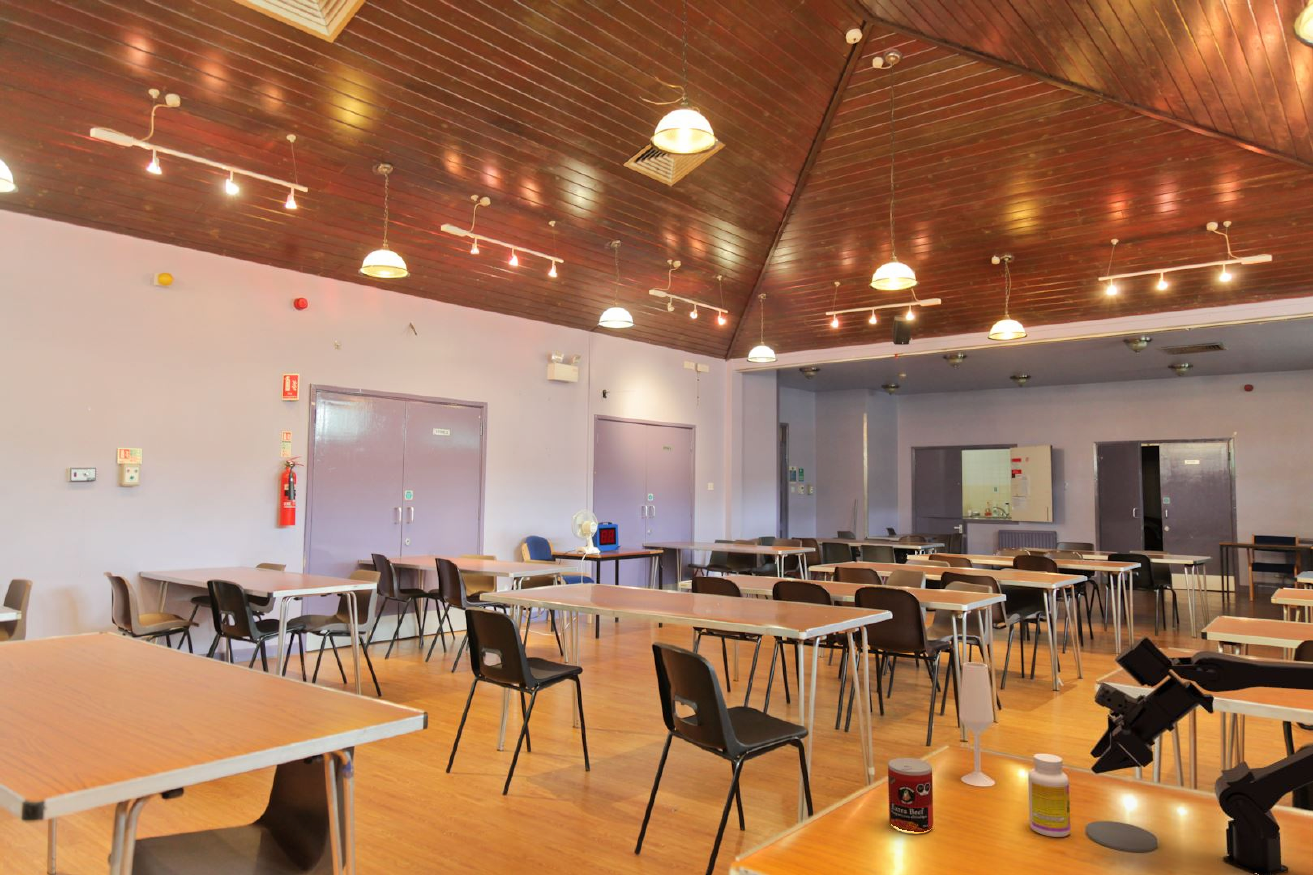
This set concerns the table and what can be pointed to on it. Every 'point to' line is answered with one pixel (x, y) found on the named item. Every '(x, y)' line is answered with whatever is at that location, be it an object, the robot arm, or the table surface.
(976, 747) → the champagne flute
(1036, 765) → the supplement bottle
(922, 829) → the canned food
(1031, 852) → the table surface
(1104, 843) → the slate coaster
